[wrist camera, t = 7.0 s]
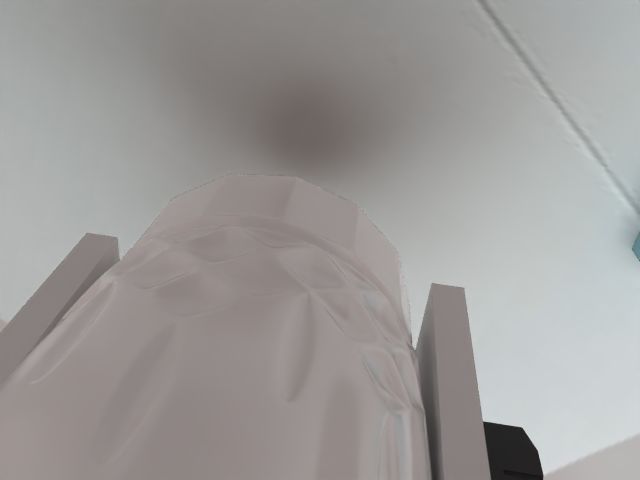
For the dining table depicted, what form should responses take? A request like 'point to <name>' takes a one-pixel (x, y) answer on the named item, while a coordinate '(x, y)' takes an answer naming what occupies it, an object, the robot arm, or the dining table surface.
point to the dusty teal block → (637, 247)
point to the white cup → (230, 351)
